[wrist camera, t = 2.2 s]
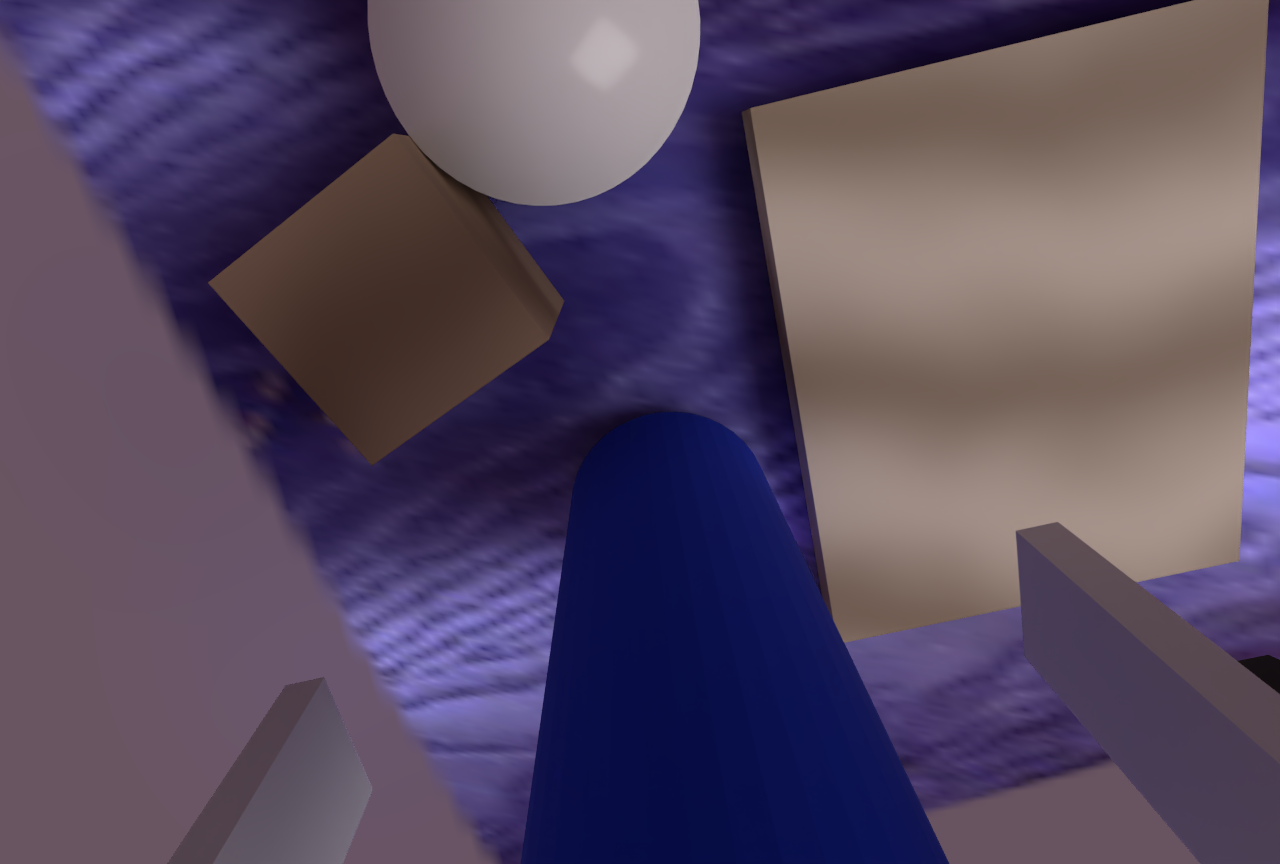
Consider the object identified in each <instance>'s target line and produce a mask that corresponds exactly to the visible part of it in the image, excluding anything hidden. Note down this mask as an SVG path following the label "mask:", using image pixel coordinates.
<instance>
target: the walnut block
mask: <svg viewBox="0 0 1280 864" xmlns="http://www.w3.org/2000/svg"><path fill="white" fill-rule="evenodd" d="M208 284H209V285H210V286H211V287H212V288H213V289H214V290H215V291H216V292H217V294H218V295H219V296H220V297H221V298H222V299H223V300H224V301H225V302H226V304H227V305H228V306H229V307H230V308H231V309H232V310H233V311H234V313H235V314H236V315H237V316H238V317H239V318H240V319H241V320H242V321H243V323H244V324H245V325H246V326H247V327H248V328H249V329H250V330H251V331H252V333H253V334H254V335H255V336H256V337H257V338H258V339H259V340H260V341H261V343H262V344H263V345H264V346H265V347H266V348H267V349H268V350H269V352H270V353H271V354H272V355H273V356H274V357H275V358H276V359H277V360H278V362H279V363H280V364H281V365H282V366H283V367H284V368H285V369H286V370H287V372H288V373H289V374H290V375H291V376H292V377H293V378H294V379H295V380H296V382H297V383H298V384H299V385H300V386H301V387H302V388H303V389H304V390H305V392H306V393H307V394H308V395H309V396H310V397H311V398H312V399H313V401H314V402H315V403H316V404H317V405H318V406H319V407H320V408H321V409H322V411H323V412H324V413H325V414H326V415H327V416H328V417H329V418H330V419H331V421H332V422H333V423H334V424H335V425H336V426H337V427H338V428H339V429H340V431H341V432H342V433H343V434H344V435H345V436H346V437H347V438H348V439H349V441H350V442H351V443H352V444H353V445H354V446H355V447H356V448H357V450H358V451H359V452H360V453H361V454H362V455H363V456H364V457H365V458H366V460H367V461H368V462H369V463H370V464H371V465H374V464H375V463H376V462H378V461H379V460H381V459H382V458H383V457H385V456H386V455H388V454H389V453H390V452H392V451H393V450H395V449H396V448H397V447H399V446H400V445H402V444H403V443H404V442H406V441H407V440H409V439H410V438H411V437H413V436H414V435H416V434H417V433H419V432H420V431H421V430H423V429H424V428H426V427H427V426H428V425H430V424H431V423H433V422H434V421H435V420H437V419H438V418H440V417H441V416H442V415H444V414H445V413H447V412H448V411H449V410H451V409H452V408H454V407H455V406H456V405H458V404H459V403H461V402H462V401H463V400H465V399H466V398H468V397H469V396H470V395H472V394H473V393H475V392H476V391H477V390H479V389H480V388H482V387H483V386H484V385H486V384H487V383H489V382H490V381H491V380H493V379H494V378H496V377H497V376H498V375H500V374H501V373H503V372H504V371H506V370H507V369H508V368H510V367H511V366H513V365H514V364H515V363H517V362H518V361H520V360H521V359H522V358H524V357H525V356H527V355H528V354H529V353H531V352H532V351H534V350H535V349H536V348H538V347H539V346H541V345H542V344H543V343H545V342H546V341H548V340H549V338H550V336H551V333H552V331H553V328H554V326H555V323H556V321H557V318H558V316H559V313H560V310H561V308H562V305H563V303H564V300H563V299H562V297H561V296H560V295H559V293H558V292H557V290H556V289H555V288H554V286H553V285H552V284H551V282H550V281H549V280H548V278H547V277H546V276H545V274H544V273H543V271H542V270H541V269H540V267H539V266H538V265H537V263H536V262H535V261H534V259H533V258H532V257H531V255H530V254H529V252H528V251H527V250H526V248H525V247H524V246H523V244H522V243H521V242H520V240H519V239H518V238H517V236H516V235H515V233H514V232H513V231H512V229H511V228H510V227H509V225H508V224H507V223H506V221H505V220H504V219H503V217H502V216H501V214H500V213H499V212H498V210H497V209H496V208H495V206H494V205H493V204H492V202H491V201H490V199H489V198H488V197H487V195H485V194H483V193H480V192H478V191H475V190H474V189H472V188H470V187H468V186H466V185H465V184H463V183H461V182H459V181H457V180H456V179H455V178H453V177H452V176H450V175H449V174H448V173H446V172H445V171H444V170H442V169H441V168H439V167H438V166H437V165H436V164H435V163H434V162H433V161H432V160H431V159H430V158H429V157H428V156H427V155H425V154H424V153H423V152H422V150H421V149H420V148H419V147H418V146H417V144H416V143H415V142H414V141H413V140H412V139H411V137H410V136H406V135H399V134H392V135H390V136H389V137H388V138H387V139H386V140H384V141H383V142H382V143H381V144H379V145H378V146H377V147H376V148H374V149H373V150H372V151H371V152H369V153H368V154H367V155H366V156H364V157H363V158H362V159H361V160H359V161H358V162H357V163H356V164H355V165H353V166H352V167H351V168H350V169H348V170H347V171H346V172H345V173H343V174H342V175H341V176H340V177H338V178H337V179H336V180H335V181H333V182H332V183H331V184H330V185H328V186H327V187H326V188H325V189H324V190H322V191H321V192H320V193H319V194H317V195H316V196H315V197H314V198H312V199H311V200H310V201H309V202H307V203H306V204H305V205H304V206H302V207H301V208H300V209H299V210H298V211H296V212H295V213H294V214H293V215H291V216H290V217H289V218H288V219H286V220H285V221H284V222H283V223H281V224H280V225H279V226H278V227H276V228H275V229H274V230H273V231H271V232H270V233H269V234H268V235H267V236H265V237H264V238H263V239H262V240H260V241H259V242H258V243H257V244H255V245H254V246H253V247H252V248H250V249H249V250H248V251H247V252H245V253H244V254H243V255H242V256H240V257H239V258H238V259H237V260H236V261H234V262H233V263H232V264H231V265H229V266H228V267H227V268H226V269H224V270H223V271H222V272H221V273H219V274H218V275H217V276H216V277H214V278H213V279H212V280H211V281H210V282H208Z"/></svg>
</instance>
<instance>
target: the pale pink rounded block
mask: <svg viewBox="0 0 1280 864" xmlns="http://www.w3.org/2000/svg"><path fill="white" fill-rule="evenodd" d="M368 30H369V38H370V45H371V51H372V55H373V59H374V63H375V67H376V71H377V74H378V77H379V80H380V82H381V85H382V88H383V90H384V93H385V96H386V97H387V99H388V101H389V103H390V105H391V107H392V109H393V111H394V113H395V115H396V117H397V118H398V120H399V121H400V123H401V124H402V126H403V127H404V129H405V130H406V132H407V133H408V135H409V136H410V137H411V139H412V140H413V141H414V142H415V143H416V144H417V146H418V147H419V148H420V149H421V150H422V152H423V153H424V154H425V155H427V156H428V157H429V158H430V159H431V160H432V161H433V162H434V163H435V164H436V165H437V166H438V167H439V168H441V169H442V170H444V171H445V172H446V173H448V174H449V175H450V176H452V177H453V178H455V179H456V180H457V181H459V182H461V183H463V184H465V185H466V186H468V187H470V188H472V189H474V190H475V191H478V192H480V193H483V194H485V195H488V196H490V197H493V198H495V199H499V200H503V201H507V202H511V203H515V204H524V205H533V206H550V205H561V204H567V203H574V202H578V201H581V200H584V199H588V198H591V197H594V196H597V195H599V194H601V193H603V192H605V191H607V190H609V189H612V188H614V187H615V186H617V185H618V184H620V183H621V182H623V181H625V180H626V179H628V178H629V177H631V176H632V175H633V174H634V173H635V172H637V171H638V170H639V169H640V168H641V167H643V166H644V165H645V164H646V163H647V162H648V161H649V160H650V159H651V158H652V156H653V155H654V154H655V153H656V152H657V151H658V150H659V149H660V148H661V146H662V145H663V143H664V142H665V141H666V139H667V138H668V136H669V135H670V133H671V132H672V130H673V129H674V127H675V125H676V123H677V121H678V119H679V117H680V115H681V114H682V112H683V110H684V107H685V104H686V102H687V99H688V96H689V94H690V91H691V88H692V84H693V80H694V76H695V72H696V68H697V62H698V54H699V46H700V14H699V5H698V0H368Z"/></svg>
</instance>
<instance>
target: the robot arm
mask: <svg viewBox="0 0 1280 864" xmlns="http://www.w3.org/2000/svg"><path fill="white" fill-rule="evenodd" d="M1016 543H1017V558H1018V572H1019V586H1020V600H1021V614H1022V628H1023V642H1024V656H1025V658H1026V659H1027V660H1028V661H1029V662H1030V664H1031V665H1032V666H1033V667H1034V668H1035V670H1036V671H1037V672H1038V673H1039V674H1040V675H1041V677H1042V678H1043V679H1044V680H1045V681H1046V682H1047V684H1048V685H1049V686H1050V687H1051V688H1052V689H1053V691H1054V692H1055V693H1056V694H1057V695H1058V697H1059V698H1060V699H1061V700H1062V701H1063V702H1064V704H1065V705H1066V706H1067V707H1068V708H1069V709H1070V711H1071V712H1072V713H1073V714H1074V715H1075V717H1076V718H1077V719H1078V720H1079V721H1080V722H1081V724H1082V725H1083V726H1084V727H1085V728H1086V729H1087V731H1088V732H1089V733H1090V734H1091V735H1092V736H1093V738H1094V739H1095V740H1096V741H1097V742H1098V744H1099V745H1100V746H1101V747H1102V748H1103V749H1104V751H1105V752H1106V753H1107V754H1108V755H1109V756H1110V758H1111V759H1112V760H1113V761H1114V762H1115V764H1116V765H1117V766H1118V767H1119V768H1120V769H1121V770H1122V772H1123V773H1124V774H1125V775H1126V776H1127V778H1128V779H1129V780H1130V781H1131V782H1132V783H1133V785H1134V786H1135V787H1136V788H1137V789H1138V791H1139V792H1140V793H1141V794H1142V795H1143V796H1144V798H1145V799H1146V800H1147V801H1148V802H1149V803H1150V804H1151V806H1152V807H1153V808H1154V809H1155V811H1156V812H1157V813H1158V814H1159V815H1160V816H1161V818H1162V819H1163V820H1164V821H1165V822H1166V823H1167V825H1168V826H1169V827H1170V828H1171V829H1172V831H1173V832H1174V833H1175V834H1176V835H1177V836H1178V838H1179V839H1180V840H1181V841H1182V842H1183V843H1184V845H1185V846H1186V847H1187V848H1188V849H1189V850H1190V852H1191V853H1192V854H1193V855H1194V856H1195V858H1196V859H1197V860H1198V861H1199V862H1200V863H1201V864H1280V660H1279V659H1277V658H1274V657H1272V656H1270V655H1265V656H1260V657H1255V658H1250V659H1245V660H1240V661H1236V660H1235V659H1234V658H1233V657H1231V656H1230V655H1229V654H1227V653H1226V652H1225V651H1224V650H1222V649H1221V648H1220V647H1218V646H1217V645H1216V644H1214V643H1213V642H1212V641H1211V640H1209V639H1208V638H1207V637H1205V636H1204V635H1203V634H1202V633H1200V632H1199V631H1198V630H1196V629H1195V628H1194V627H1193V626H1191V625H1190V624H1189V623H1187V622H1186V621H1185V620H1184V619H1182V618H1181V617H1180V616H1178V615H1177V614H1176V613H1175V612H1173V611H1172V610H1171V609H1169V608H1168V607H1167V606H1166V605H1164V604H1163V603H1162V602H1160V601H1159V600H1158V599H1157V598H1155V597H1154V596H1153V595H1151V594H1150V593H1149V592H1148V591H1146V590H1145V589H1144V588H1142V587H1141V586H1140V585H1139V584H1137V583H1136V582H1135V581H1133V580H1132V579H1131V578H1130V577H1128V576H1127V575H1126V574H1124V573H1123V572H1122V571H1121V570H1119V569H1118V568H1117V567H1115V566H1114V565H1113V564H1112V563H1110V562H1109V561H1108V560H1106V559H1105V558H1104V557H1103V556H1101V555H1100V554H1099V553H1097V552H1096V551H1095V550H1094V549H1092V548H1091V547H1090V546H1088V545H1087V544H1086V543H1085V542H1083V541H1082V540H1081V539H1079V538H1078V537H1077V536H1076V535H1074V534H1073V533H1072V532H1070V531H1069V530H1068V529H1067V528H1065V527H1064V526H1063V525H1061V524H1060V523H1059V522H1055V523H1050V524H1045V525H1040V526H1036V527H1031V528H1026V529H1022V530H1017V531H1016ZM372 790H373V788H372V786H371V784H370V782H369V779H368V777H367V775H366V772H365V770H364V768H363V765H362V763H361V761H360V759H359V756H358V754H357V752H356V749H355V747H354V745H353V742H352V740H351V738H350V736H349V733H348V731H347V729H346V726H345V724H344V722H343V720H342V717H341V715H340V712H339V710H338V708H337V706H336V703H335V701H334V699H333V696H332V694H331V692H330V689H329V687H328V685H327V682H326V680H325V678H318V679H314V680H309V681H304V682H300V683H295V684H290V685H286V686H285V688H284V689H283V690H282V692H281V693H280V695H279V697H278V698H277V699H276V701H275V703H274V704H273V705H272V707H271V708H270V710H269V711H268V713H267V714H266V716H265V717H264V719H263V721H262V722H261V723H260V725H259V727H258V728H257V729H256V731H255V733H254V734H253V735H252V737H251V739H250V740H249V742H248V743H247V745H246V746H245V748H244V749H243V751H242V752H241V754H240V755H239V757H238V758H237V760H236V761H235V763H234V764H233V766H232V767H231V769H230V770H229V772H228V773H227V775H226V776H225V778H224V779H223V781H222V782H221V784H220V785H219V787H218V788H217V790H216V791H215V793H214V794H213V796H212V797H211V799H210V800H209V802H208V803H207V805H206V806H205V808H204V809H203V811H202V812H201V814H200V815H199V817H198V818H197V820H196V821H195V823H194V824H193V826H192V827H191V829H190V830H189V832H188V833H187V835H186V836H185V838H184V839H183V841H182V842H181V844H180V845H179V847H178V848H177V850H176V851H175V853H174V854H173V856H172V857H171V859H170V860H169V862H168V863H167V864H343V862H344V859H345V856H346V854H347V852H348V849H349V847H350V844H351V842H352V840H353V837H354V835H355V832H356V830H357V827H358V825H359V822H360V820H361V817H362V815H363V813H364V810H365V808H366V805H367V803H368V800H369V798H370V795H371V793H372Z"/></svg>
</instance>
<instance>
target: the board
mask: <svg viewBox="0 0 1280 864" xmlns="http://www.w3.org/2000/svg"><path fill="white" fill-rule="evenodd" d="M1268 2H1269V0H1193V1H1189V2H1185V3H1181V4H1177V5H1173V6H1168V7H1164V8H1160V9H1156V10H1152V11H1148V12H1144V13H1140V14H1136V15H1131V16H1127V17H1123V18H1119V19H1115V20H1111V21H1107V22H1103V23H1098V24H1094V25H1090V26H1086V27H1082V28H1078V29H1074V30H1070V31H1066V32H1061V33H1057V34H1053V35H1049V36H1045V37H1041V38H1037V39H1033V40H1029V41H1024V42H1020V43H1016V44H1012V45H1008V46H1004V47H1000V48H996V49H991V50H987V51H983V52H979V53H975V54H971V55H967V56H963V57H959V58H954V59H950V60H946V61H942V62H938V63H934V64H930V65H926V66H922V67H917V68H913V69H909V70H905V71H901V72H897V73H893V74H889V75H884V76H880V77H876V78H872V79H868V80H864V81H860V82H856V83H852V84H847V85H843V86H839V87H835V88H831V89H827V90H823V91H819V92H815V93H810V94H806V95H802V96H798V97H794V98H790V99H786V100H782V101H778V102H773V103H769V104H765V105H761V106H757V107H753V108H749V109H747V110H745V111H743V112H742V118H743V124H744V130H745V136H746V142H747V148H748V154H749V160H750V166H751V172H752V178H753V184H754V190H755V197H756V203H757V209H758V215H759V221H760V227H761V233H762V239H763V245H764V251H765V257H766V263H767V269H768V275H769V281H770V287H771V293H772V299H773V305H774V311H775V317H776V323H777V329H778V335H779V341H780V347H781V353H782V359H783V365H784V371H785V377H786V383H787V389H788V395H789V401H790V407H791V413H792V419H793V425H794V431H795V437H796V443H797V449H798V455H799V461H800V467H801V473H802V479H803V485H804V491H805V497H806V503H807V509H808V515H809V521H810V527H811V533H812V539H813V545H814V551H815V557H816V563H817V569H818V575H819V581H820V587H821V593H822V597H823V600H824V602H825V604H826V606H827V608H828V610H829V612H830V614H831V616H832V618H833V621H834V623H835V625H836V627H837V629H838V631H839V633H840V635H841V637H842V639H843V642H844V643H845V642H849V641H854V640H859V639H864V638H869V637H874V636H878V635H883V634H888V633H893V632H898V631H903V630H907V629H912V628H917V627H922V626H927V625H932V624H936V623H941V622H946V621H951V620H956V619H961V618H965V617H970V616H975V615H980V614H985V613H990V612H994V611H999V610H1004V609H1009V608H1014V607H1019V606H1021V600H1020V586H1019V572H1018V558H1017V543H1016V531H1017V530H1022V529H1026V528H1031V527H1036V526H1040V525H1045V524H1050V523H1055V522H1059V523H1060V524H1061V525H1063V526H1064V527H1065V528H1067V529H1068V530H1069V531H1070V532H1072V533H1073V534H1074V535H1076V536H1077V537H1078V538H1079V539H1081V540H1082V541H1083V542H1085V543H1086V544H1087V545H1088V546H1090V547H1091V548H1092V549H1094V550H1095V551H1096V552H1097V553H1099V554H1100V555H1101V556H1103V557H1104V558H1105V559H1106V560H1108V561H1109V562H1110V563H1112V564H1113V565H1114V566H1115V567H1117V568H1118V569H1119V570H1121V571H1122V572H1123V573H1124V574H1126V575H1127V576H1128V577H1130V578H1131V579H1132V580H1133V581H1135V582H1139V581H1144V580H1149V579H1154V578H1159V577H1164V576H1168V575H1173V574H1178V573H1183V572H1188V571H1193V570H1197V569H1202V568H1207V567H1212V566H1217V565H1222V564H1226V563H1231V562H1236V561H1239V555H1240V536H1241V517H1242V498H1243V479H1244V460H1245V441H1246V422H1247V403H1248V384H1249V365H1250V346H1251V327H1252V307H1253V288H1254V269H1255V250H1256V231H1257V212H1258V193H1259V174H1260V155H1261V136H1262V117H1263V98H1264V79H1265V59H1266V40H1267V21H1268Z"/></svg>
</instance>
